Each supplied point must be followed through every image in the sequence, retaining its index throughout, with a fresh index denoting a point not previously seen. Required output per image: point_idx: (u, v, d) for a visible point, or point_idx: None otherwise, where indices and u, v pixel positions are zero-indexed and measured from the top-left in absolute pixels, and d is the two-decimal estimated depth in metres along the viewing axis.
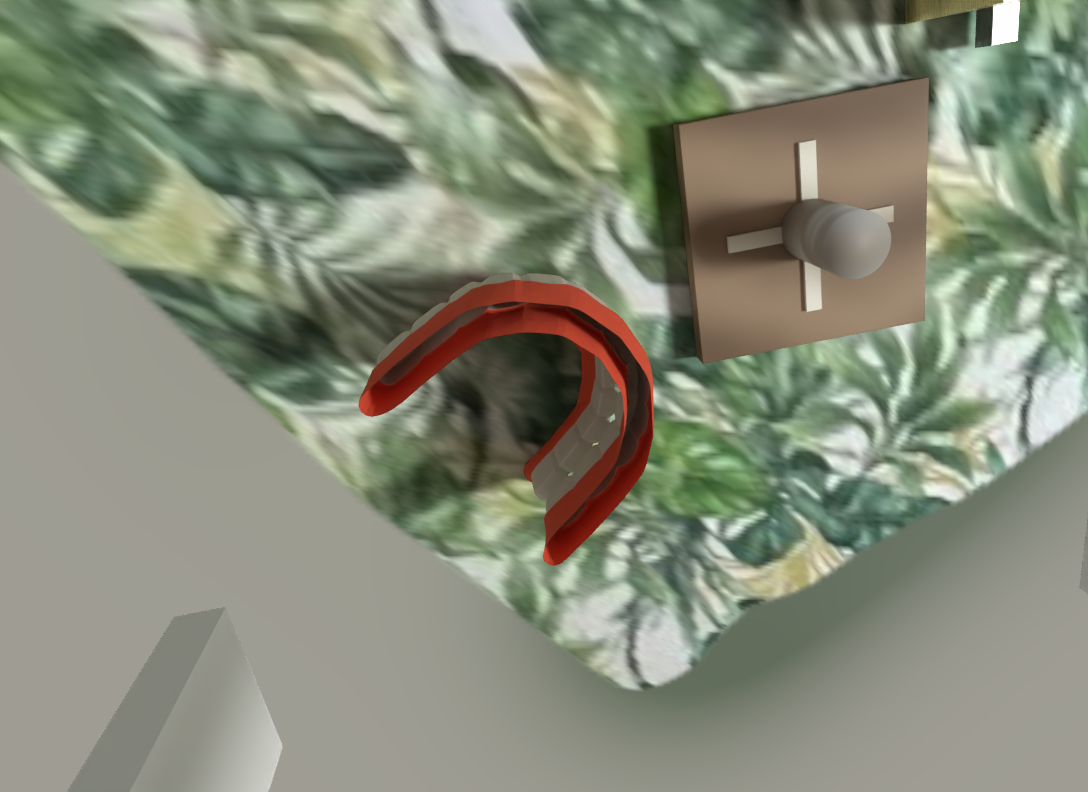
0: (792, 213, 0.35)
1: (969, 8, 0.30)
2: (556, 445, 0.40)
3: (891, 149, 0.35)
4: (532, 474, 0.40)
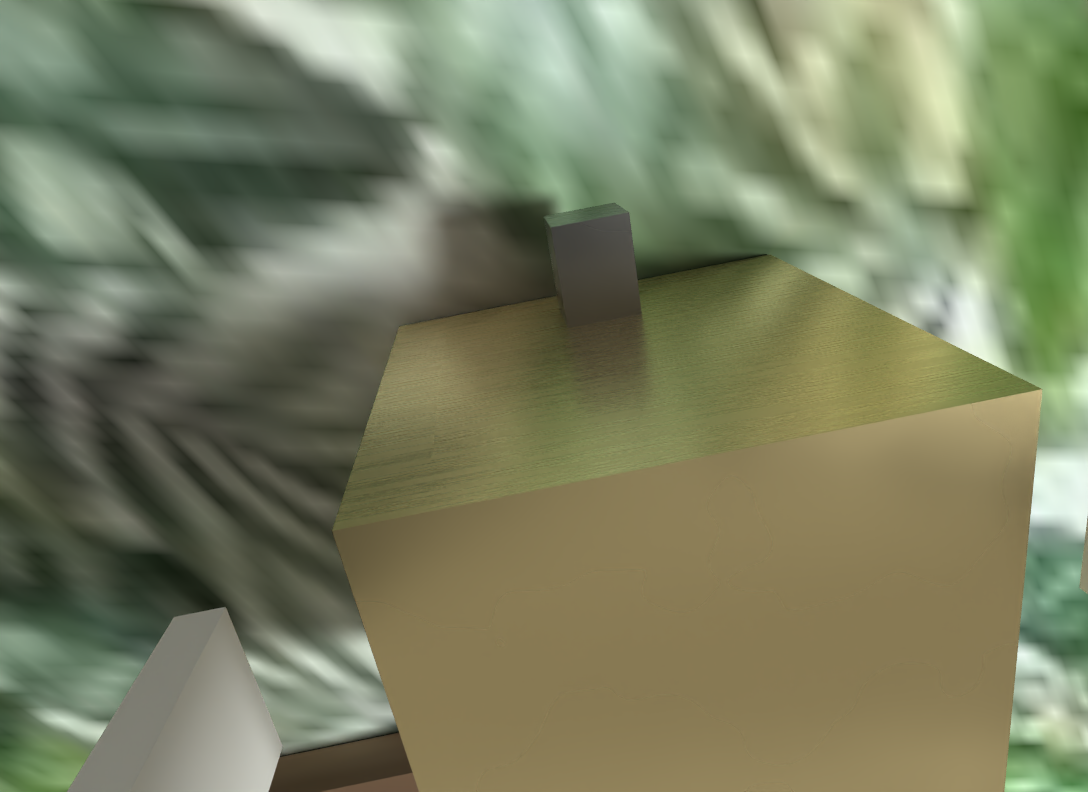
0: None
1: None
2: None
3: None
4: None
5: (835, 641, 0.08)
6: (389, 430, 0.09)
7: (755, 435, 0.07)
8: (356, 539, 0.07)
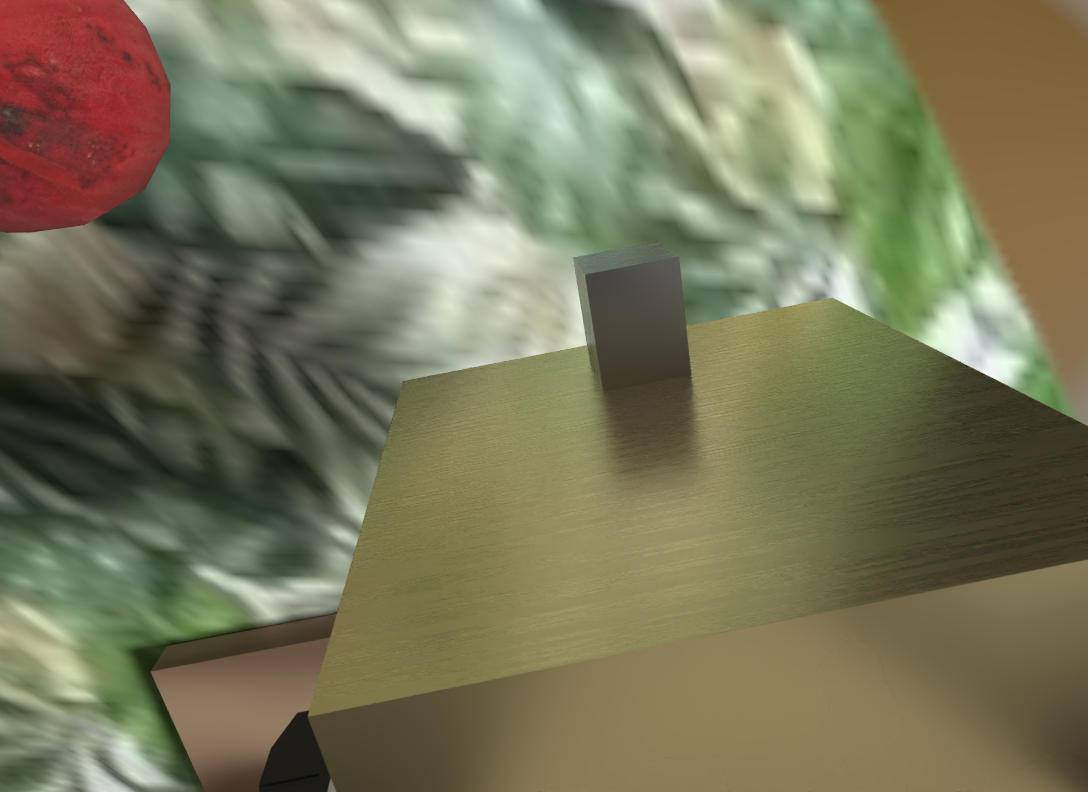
0: None
1: None
2: None
3: None
4: None
5: None
6: (388, 539, 0.07)
7: (881, 579, 0.05)
8: (341, 725, 0.05)
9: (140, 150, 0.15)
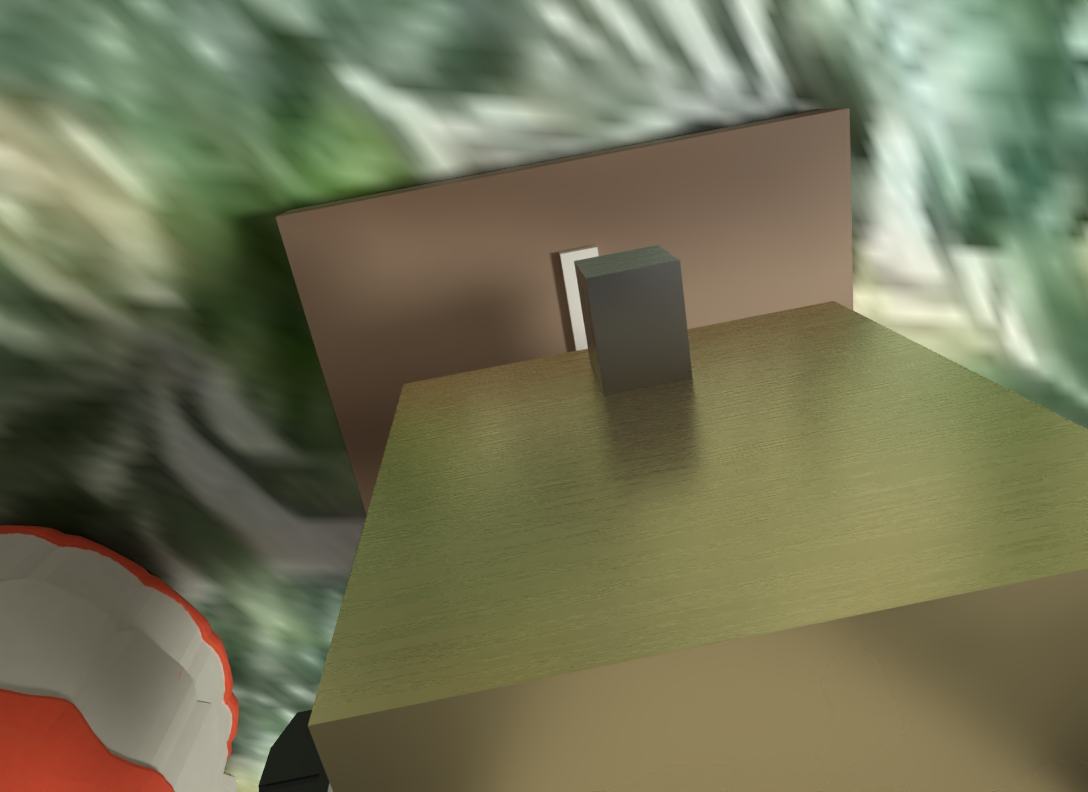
0: None
1: None
2: None
3: (772, 264, 0.16)
4: None
5: None
6: (389, 545, 0.07)
7: (884, 587, 0.05)
8: (341, 735, 0.05)
9: None
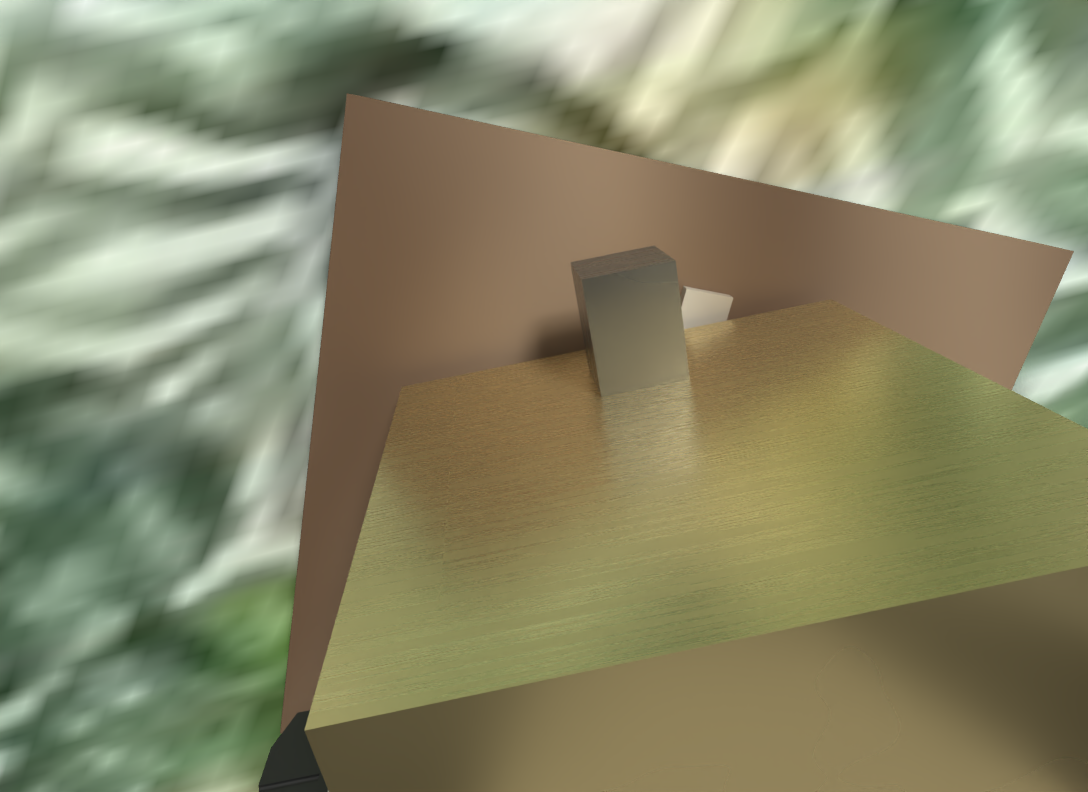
0: None
1: None
2: None
3: (523, 255, 0.12)
4: None
5: None
6: (386, 549, 0.07)
7: (879, 587, 0.05)
8: (338, 739, 0.05)
9: None
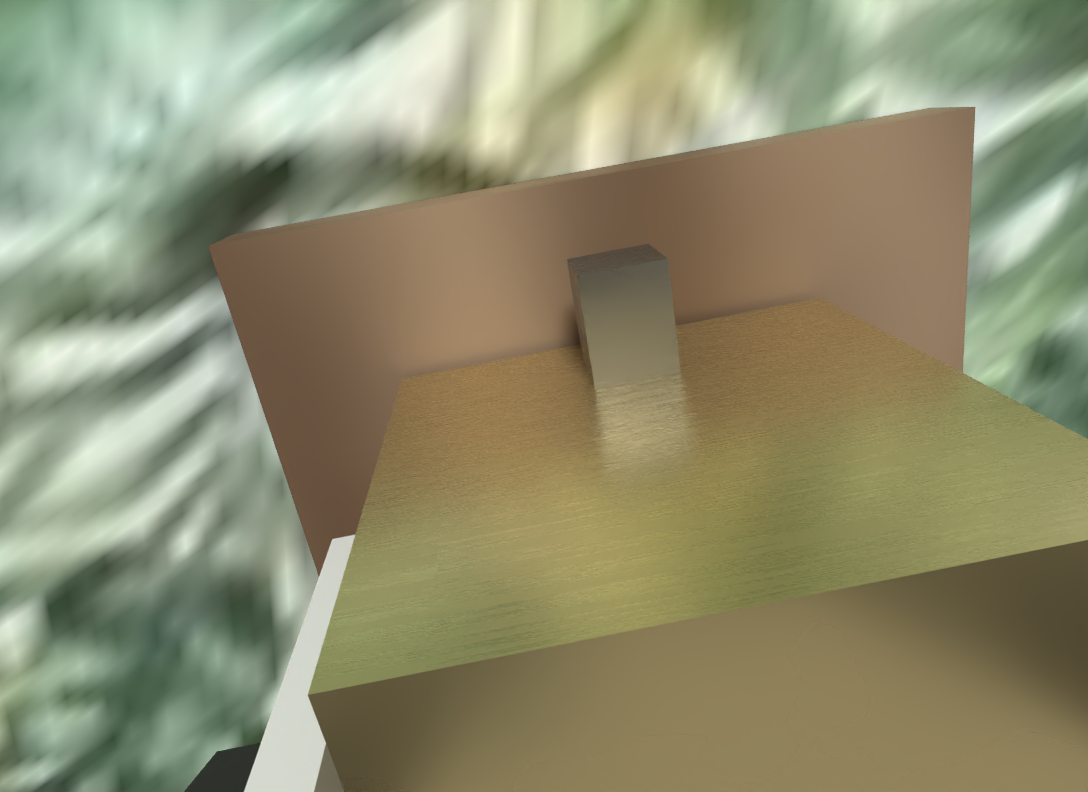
0: None
1: None
2: None
3: (424, 323, 0.12)
4: None
5: None
6: (386, 530, 0.07)
7: (850, 566, 0.06)
8: (339, 703, 0.05)
9: None
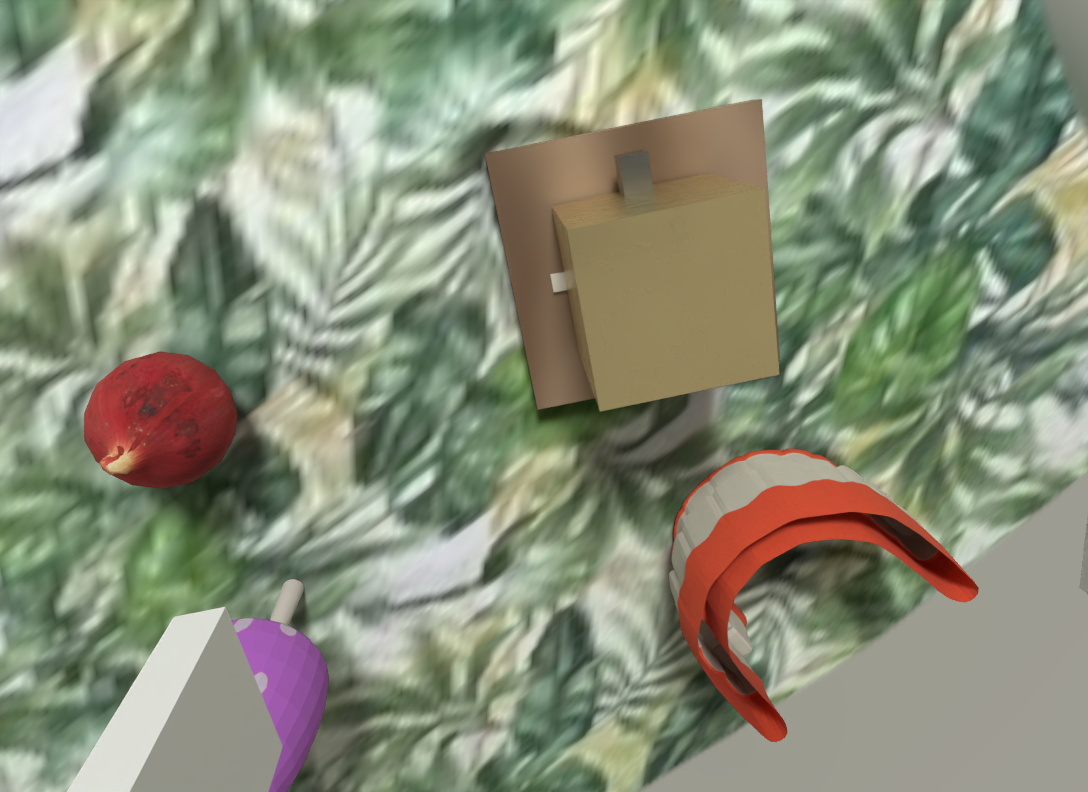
0: None
1: (592, 390, 0.30)
2: None
3: (560, 184, 0.32)
4: None
5: (712, 273, 0.26)
6: (569, 219, 0.27)
7: (684, 204, 0.26)
8: (573, 233, 0.25)
9: (179, 366, 0.31)
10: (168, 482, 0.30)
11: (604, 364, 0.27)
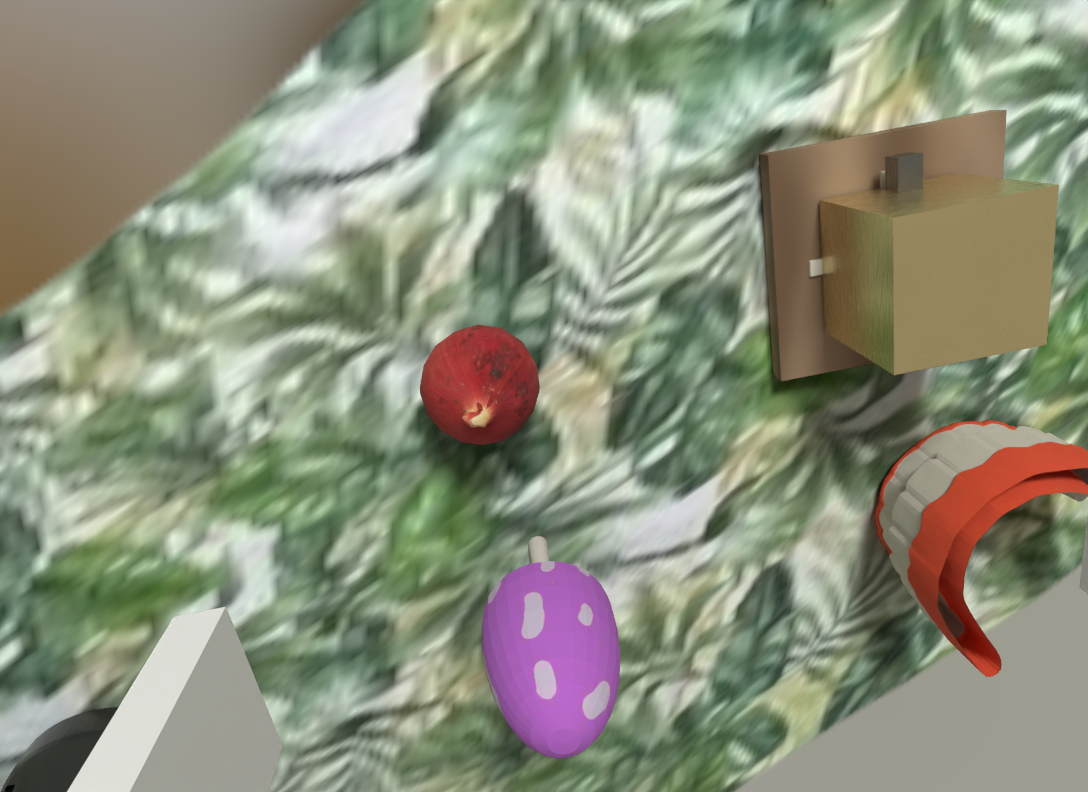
0: None
1: (870, 359, 0.35)
2: None
3: (827, 181, 0.36)
4: None
5: (1005, 256, 0.31)
6: (874, 210, 0.32)
7: (989, 197, 0.30)
8: (897, 220, 0.30)
9: (505, 336, 0.35)
10: (497, 438, 0.35)
11: (904, 334, 0.32)
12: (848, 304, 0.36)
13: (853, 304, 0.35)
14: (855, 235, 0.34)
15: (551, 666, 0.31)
